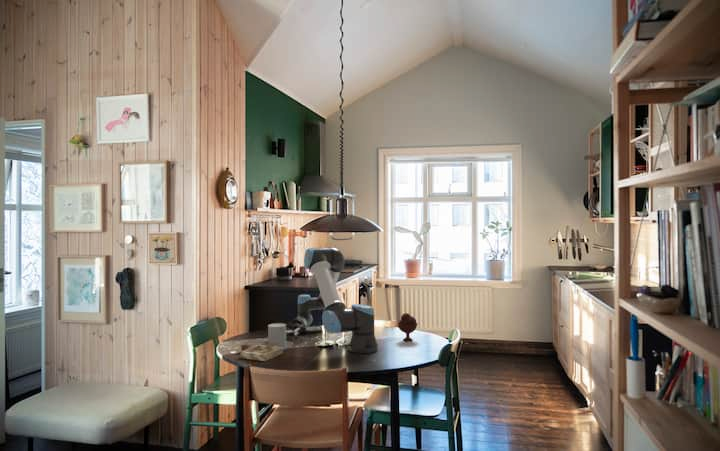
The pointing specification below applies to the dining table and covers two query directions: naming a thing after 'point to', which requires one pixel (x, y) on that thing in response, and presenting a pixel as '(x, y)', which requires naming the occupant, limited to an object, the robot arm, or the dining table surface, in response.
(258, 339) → the dining table surface
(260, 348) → the oak tray
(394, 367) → the dining table surface
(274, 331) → the speckled tin can
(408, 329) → the ice cream bowl
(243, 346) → the walnut block
